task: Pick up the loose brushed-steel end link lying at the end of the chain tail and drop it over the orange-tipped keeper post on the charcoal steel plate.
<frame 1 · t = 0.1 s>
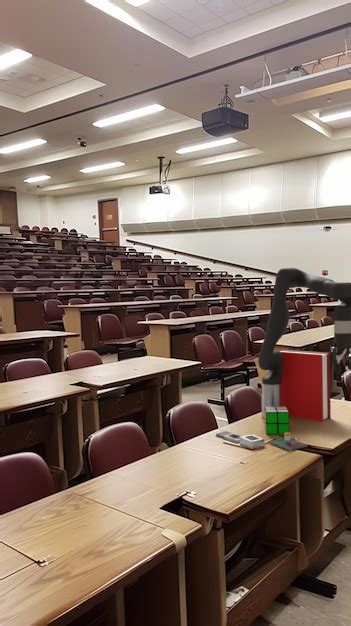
hand: (344, 371, 197), 29 cm above the table, fingers open, 8 cm apart
puzzle cube: (276, 431, 215), on the table
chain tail: (235, 439, 205), on the table
book: (300, 416, 240), on the table
link: (251, 445, 197), on the table
keeper: (287, 445, 196), on the table
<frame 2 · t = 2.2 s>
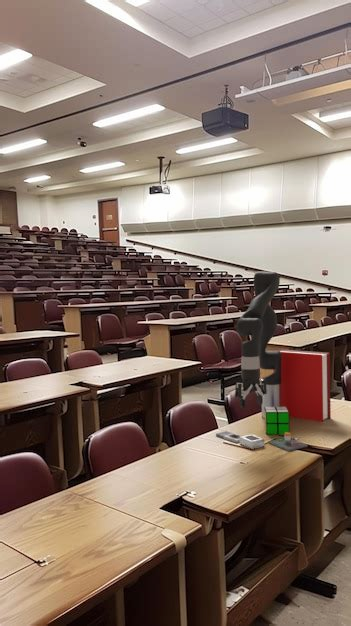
hand: (251, 406, 196), 16 cm above the table, fingers open, 8 cm apart
nothing on the table moved.
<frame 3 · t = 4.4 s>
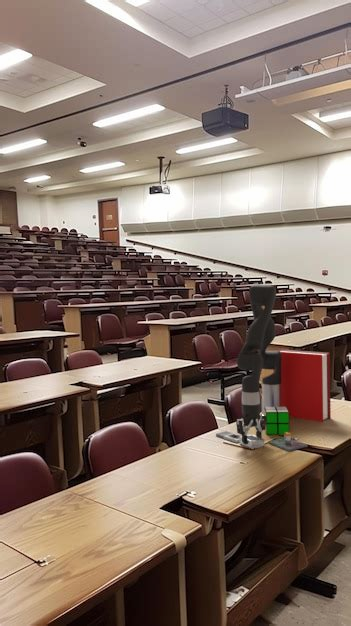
hand: (251, 442, 197), 1 cm above the table, fingers closed on link, 6 cm apart
link: (251, 445, 197), on the table, touching gripper
everything else where it was.
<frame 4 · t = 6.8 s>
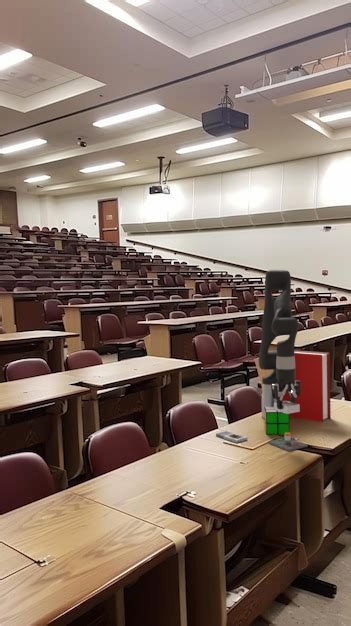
hand: (286, 407, 195), 15 cm above the table, fingers closed on link, 6 cm apart
link: (286, 410, 195), point 14 cm above the table, touching gripper
everything else where it was.
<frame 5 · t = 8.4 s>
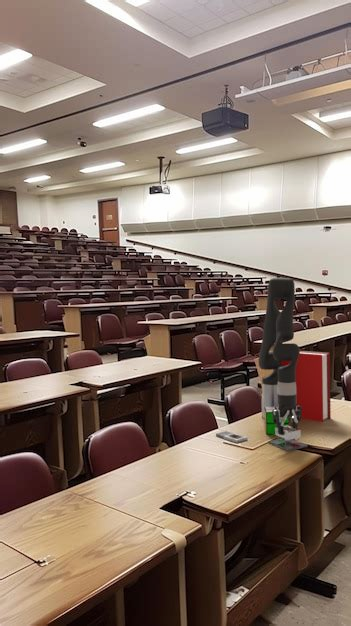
hand: (287, 433, 196), 5 cm above the table, fingers closed on link, 6 cm apart
link: (287, 436, 196), point 4 cm above the table, touching gripper
everything else where it was.
when the fingers open (4 cm above the table, at t = 9.5 s): link drops 2 cm, resting on keeper.
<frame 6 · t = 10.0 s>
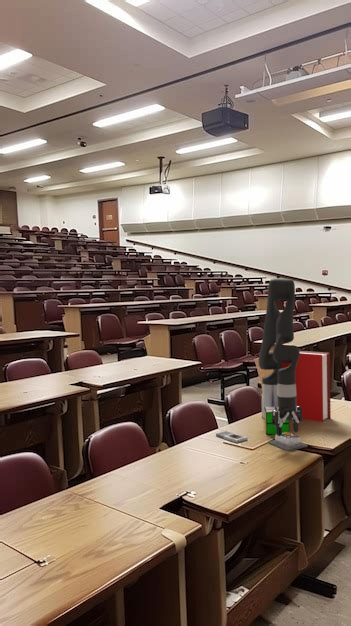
hand: (287, 433, 196), 5 cm above the table, fingers open, 8 cm apart
link: (287, 443, 196), point 1 cm above the table, touching keeper
everything else where it was.
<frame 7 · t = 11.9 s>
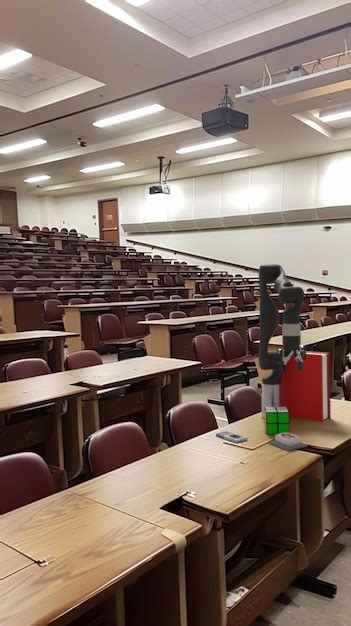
hand: (291, 371, 204), 28 cm above the table, fingers open, 8 cm apart
nothing on the table moved.
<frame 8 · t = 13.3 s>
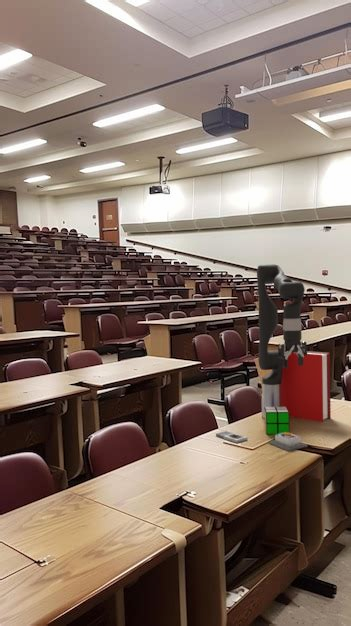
hand: (292, 366, 205), 30 cm above the table, fingers open, 8 cm apart
nothing on the table moved.
at the end: link 0.1 cm from the keeper (horizontally); link point 0.8 cm above the table; the gripper is holding nothing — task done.
